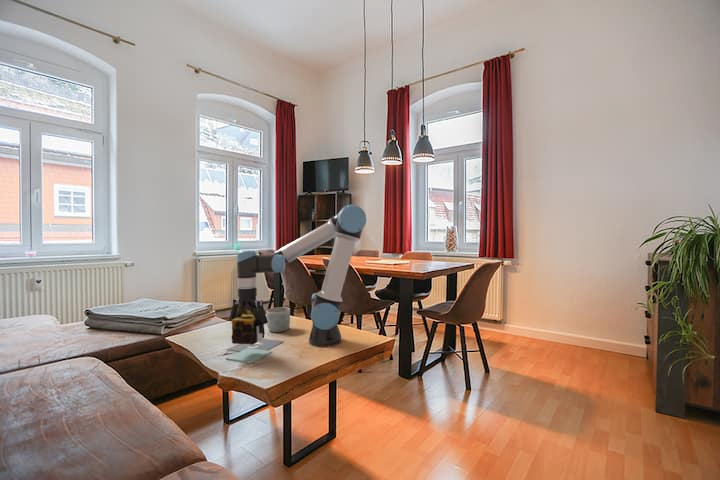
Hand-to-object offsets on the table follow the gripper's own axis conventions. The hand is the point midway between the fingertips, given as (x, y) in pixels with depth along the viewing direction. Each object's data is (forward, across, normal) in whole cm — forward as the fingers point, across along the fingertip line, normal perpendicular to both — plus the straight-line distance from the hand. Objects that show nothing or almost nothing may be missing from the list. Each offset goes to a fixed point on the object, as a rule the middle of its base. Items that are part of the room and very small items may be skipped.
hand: (248, 339), depth 150 cm
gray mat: (+7, +6, -12) cm, 15 cm away
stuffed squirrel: (+7, +39, -45) cm, 60 cm away
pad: (+7, 0, 0) cm, 7 cm away
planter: (+7, +11, -37) cm, 39 cm away
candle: (+1, 0, 0) cm, 1 cm away
